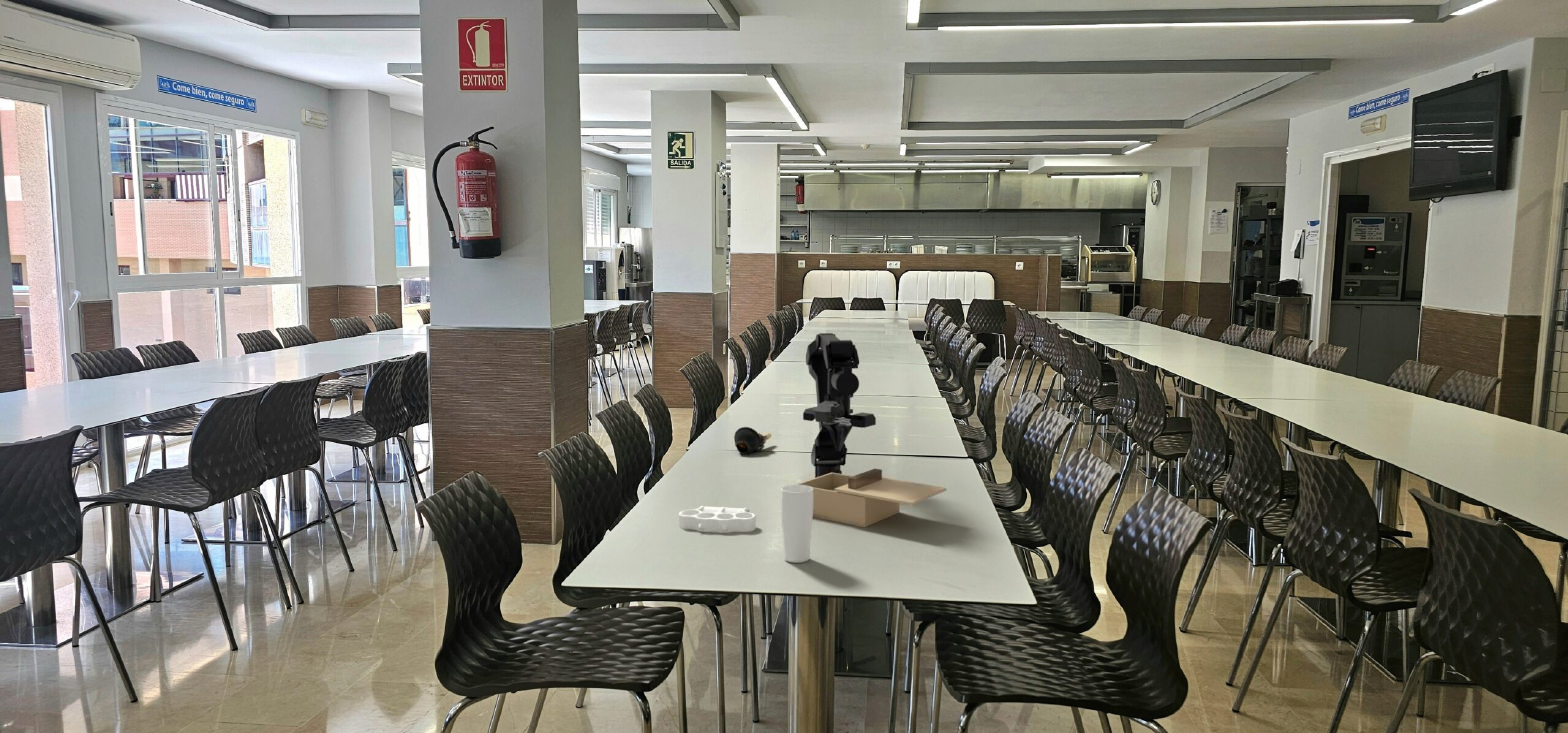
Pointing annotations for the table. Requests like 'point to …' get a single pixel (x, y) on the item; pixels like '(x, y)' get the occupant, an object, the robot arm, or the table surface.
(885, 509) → the mailer box
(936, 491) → the mailer lid
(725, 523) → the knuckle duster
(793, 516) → the drinking glass
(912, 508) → the table surface
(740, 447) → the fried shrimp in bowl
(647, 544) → the table surface
